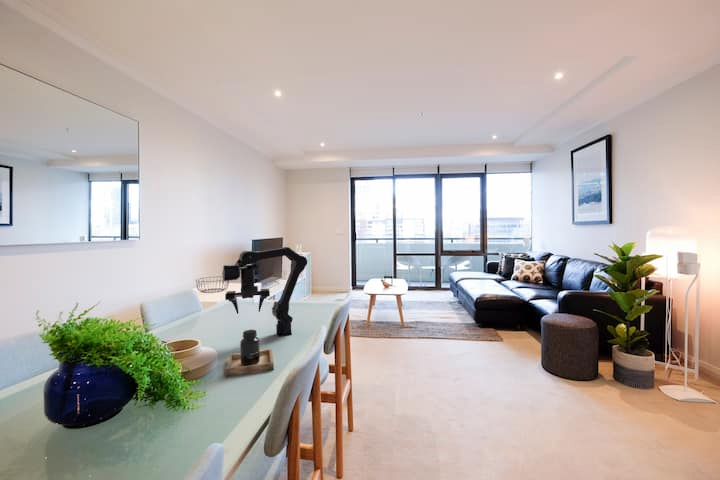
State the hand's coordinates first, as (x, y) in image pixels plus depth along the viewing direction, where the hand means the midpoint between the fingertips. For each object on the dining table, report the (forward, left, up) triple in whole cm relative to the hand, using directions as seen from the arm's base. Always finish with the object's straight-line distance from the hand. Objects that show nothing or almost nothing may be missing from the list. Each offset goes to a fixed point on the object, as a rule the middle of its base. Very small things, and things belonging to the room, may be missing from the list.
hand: (248, 312), depth 142 cm
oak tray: (-1, +27, -13) cm, 30 cm away
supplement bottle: (-1, +27, -12) cm, 29 cm away
